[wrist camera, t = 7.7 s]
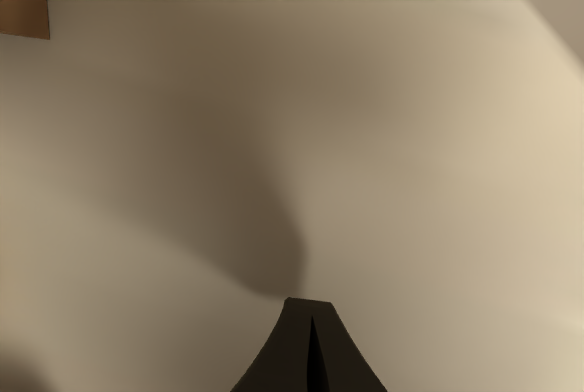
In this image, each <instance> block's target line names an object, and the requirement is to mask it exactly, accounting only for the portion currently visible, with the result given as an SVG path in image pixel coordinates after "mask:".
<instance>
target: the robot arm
mask: <svg viewBox="0 0 584 392" xmlns="http://www.w3.org/2000/svg"><path fill="white" fill-rule="evenodd" d="M230 392H388V391H387V390H386V388H385V387H384V386H383V385H382V383H381V382H380V380H379V379H378V378H377V376H376V375H375V374H374V372H373V371H372V369H371V368H370V366H369V365H368V364H367V362H366V361H365V359H364V358H363V356H362V354H361V353H360V351H359V350H358V348H357V347H356V345H355V344H354V342H353V340H352V339H351V337H350V335H349V334H348V332H347V330H346V328H345V327H344V325H343V323H342V321H341V319H340V318H339V316H338V314H337V312H336V310H335V308H334V306H333V305H332V304H331V302H323V301H315V300H307V299H300V298H292V297H289V298H287V299H286V300H285V301H284V306H283V309H282V312H281V315H280V317H279V319H278V321H277V323H276V325H275V327H274V329H273V331H272V333H271V334H270V336H269V338H268V340H267V342H266V343H265V345H264V346H263V348H262V349H261V351H260V352H259V354H258V355H257V357H256V358H255V360H254V361H253V363H252V364H251V366H250V367H249V368H248V370H247V371H246V373H245V374H244V375H243V376H242V378H241V379H240V380H239V382H238V383H237V384H236V385H235V386H234V388H233V389H232V390H231V391H230Z"/></svg>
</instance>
